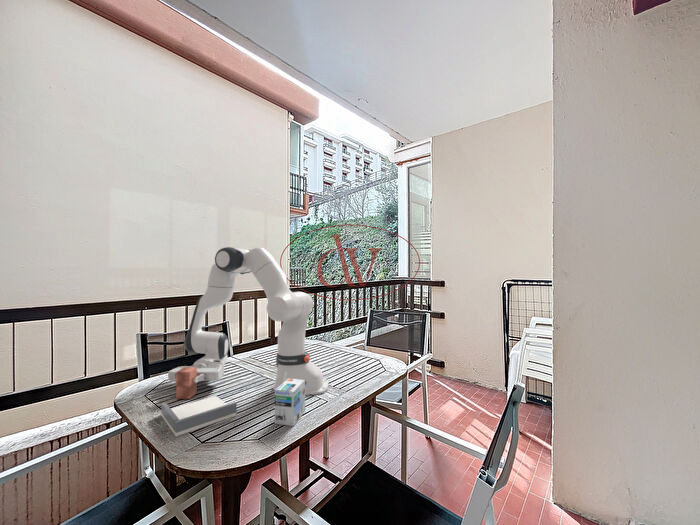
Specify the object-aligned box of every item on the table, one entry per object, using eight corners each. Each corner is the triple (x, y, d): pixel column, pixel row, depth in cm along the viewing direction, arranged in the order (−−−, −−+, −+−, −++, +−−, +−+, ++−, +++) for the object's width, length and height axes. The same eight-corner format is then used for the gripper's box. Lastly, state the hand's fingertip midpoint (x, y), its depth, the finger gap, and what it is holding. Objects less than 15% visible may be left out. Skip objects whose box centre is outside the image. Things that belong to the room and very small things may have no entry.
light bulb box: (293, 426, 92) (294, 391, 93) (273, 424, 94) (273, 389, 94) (305, 410, 103) (305, 379, 103) (287, 408, 104) (287, 377, 104)
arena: (216, 398, 112) (216, 387, 112) (236, 415, 99) (236, 403, 100) (160, 414, 100) (160, 402, 100) (175, 436, 87) (176, 422, 87)
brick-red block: (196, 393, 116) (196, 367, 116) (189, 398, 111) (189, 371, 111) (183, 393, 116) (184, 367, 116) (176, 398, 111) (176, 371, 111)
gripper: (179, 361, 127) (158, 372, 113) (227, 361, 127) (212, 372, 113) (179, 376, 127) (158, 389, 113) (227, 376, 127) (211, 389, 113)
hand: (185, 380), depth 113 cm, fingers closed on brick-red block, 5 cm apart
